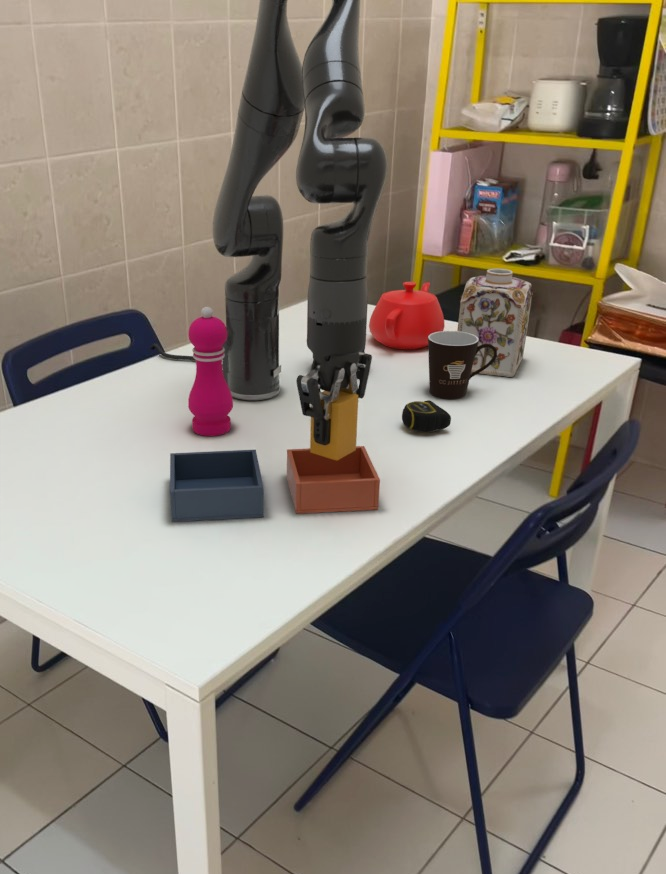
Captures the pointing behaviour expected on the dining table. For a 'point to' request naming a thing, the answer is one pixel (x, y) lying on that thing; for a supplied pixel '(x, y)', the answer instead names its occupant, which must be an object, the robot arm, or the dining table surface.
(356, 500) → the terracotta bin
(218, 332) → the pepper mill
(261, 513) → the slate bin
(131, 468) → the dining table surface
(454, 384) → the coffee mug
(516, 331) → the decorative jar
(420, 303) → the teapot
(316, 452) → the mustard box
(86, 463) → the dining table surface
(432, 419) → the tape measure
